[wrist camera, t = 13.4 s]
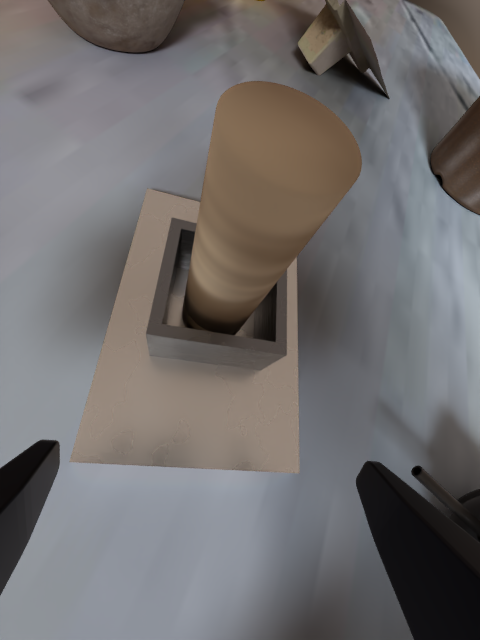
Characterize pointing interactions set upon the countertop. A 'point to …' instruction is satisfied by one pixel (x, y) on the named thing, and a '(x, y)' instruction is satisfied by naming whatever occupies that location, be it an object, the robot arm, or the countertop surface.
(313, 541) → the countertop surface
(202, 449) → the post socket base
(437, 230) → the countertop surface
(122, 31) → the mortar
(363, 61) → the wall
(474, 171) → the plant pot
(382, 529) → the robot arm
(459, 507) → the drinking cup
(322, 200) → the rail post
